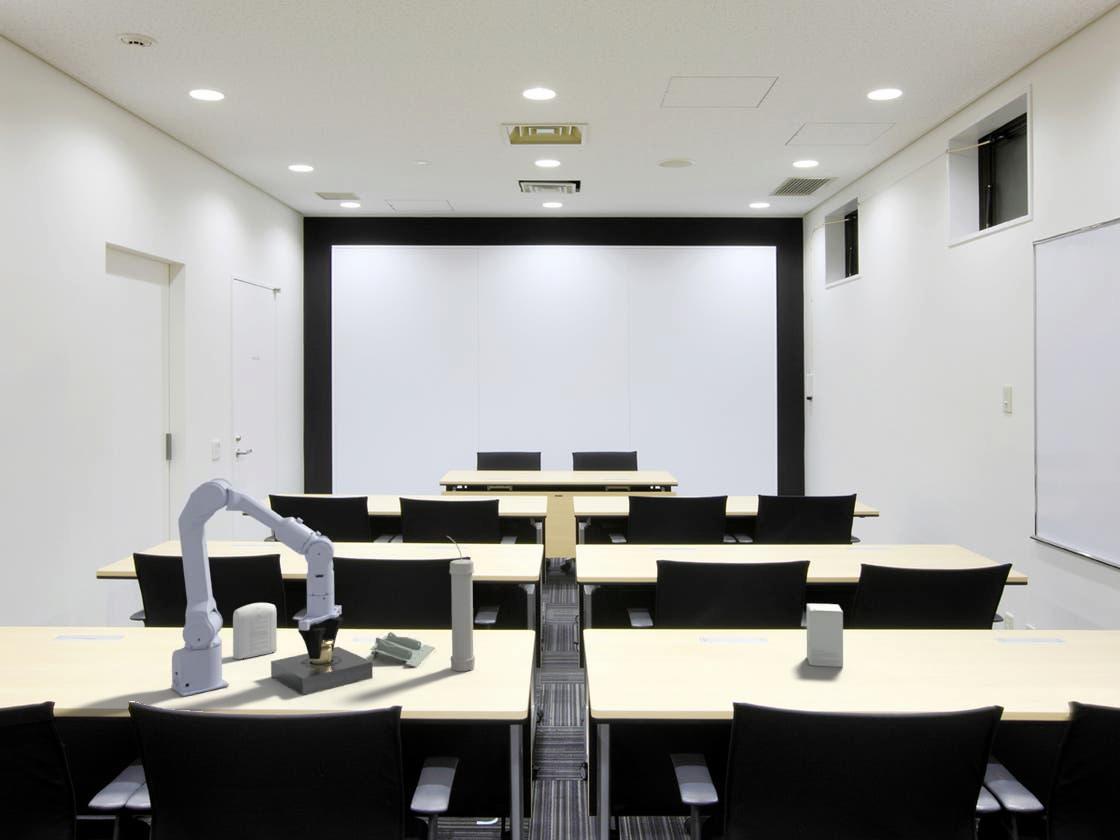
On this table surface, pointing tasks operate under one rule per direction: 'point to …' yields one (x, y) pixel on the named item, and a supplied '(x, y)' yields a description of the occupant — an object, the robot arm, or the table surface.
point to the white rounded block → (254, 630)
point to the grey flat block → (321, 671)
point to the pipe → (462, 614)
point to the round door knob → (324, 652)
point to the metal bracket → (402, 649)
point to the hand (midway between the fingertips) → (321, 654)
